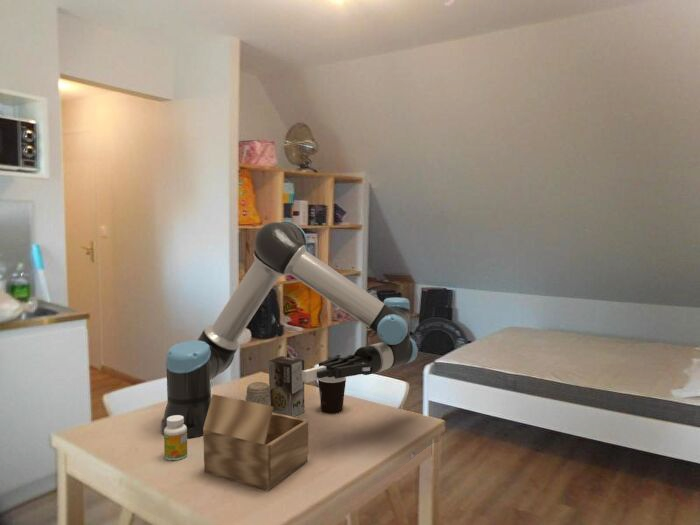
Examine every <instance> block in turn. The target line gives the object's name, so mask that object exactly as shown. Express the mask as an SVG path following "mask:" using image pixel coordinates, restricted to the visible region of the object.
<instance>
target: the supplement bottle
mask: <svg viewBox="0 0 700 525" xmlns="http://www.w3.org/2000/svg"><path fill="white" fill-rule="evenodd" d="M183 423H184V417H183V416H181V415H174V416H170V417H168V418H167V425H168V426H167V427H166V428H165V429H164V434H163V438H164V439H163V441H164V444H163V448H164V449H163V450H164V451H163V452H164V459H165V458H166V459H165V460H167V459H168V460H167V461H171V460H175V461H180V459H181V460H182V459H185V458H187V455H188V438H187V427H186V425H184V424H183Z"/></svg>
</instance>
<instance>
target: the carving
mask: <svg viewBox="0 0 700 525" xmlns="http://www.w3.org/2000/svg"><path fill="white" fill-rule="evenodd" d="M245 401H249V402H254V403H258V404H263V405H268V406H271V396H270V387H269V383H266V382H263V381H262V382H261V381H255V382H252V383H250V384H248V386H247V387H246V396H245Z"/></svg>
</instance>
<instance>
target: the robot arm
mask: <svg viewBox="0 0 700 525" xmlns="http://www.w3.org/2000/svg"><path fill="white" fill-rule="evenodd" d="M253 243H254V251H253V254H252V255H253V258H254V261H253V263H252V264H251V266H250V267H249V269H248V270H247V272H246V273H245V275H244V276H243V278H242V279H241V281H240V283H239V284H238V286H237V287H236V289H235V290H234V292H233V293H232V295H231V297H230V298H229V300H228V301H227V303H226V304H225V306H224V308H223V309H222V310H221V312H220V313H219V315H218V316H217V318H216V320H215V322H214V323H213V324H211V325H207V326H205V328H204V329H203V331H202V332H201V334H200V335H199V337H198V339H197V340H185V341H183V342H178V343H176V344H173V345H171V346H170V348H168V349H167V352H166V360H165V367H166V393H167V395H166V396H167V398H166V399H167V403H166V407H165V410H164V414H163V418H162V420H161V425H160V426H161V427H160V428H161V433H162V432H163V433H164V429H165V428H166V427H167V426H168V425H167V418H168V417H170V416H174V415H181V416H183V417H184V423H183V424H184V425H186V427H187V439H189V438H195V437H199V436H200V437H202V436H203V427H204V424H205V420H206V416H207V413H208V409H209V405H210V402H211V398H212V393H211V392H212V384H211V383H212V382H211V381H212V380H213V379H214V378H216V377H217V376H218V375H220V374H222V373H224V372H225V371H226V370H228V368H230V366H231V365H232V362H233V360H234V358H235V355H236V354H235V353H237V350H238V349H239V347H240V344H239V339H240V338H241V335H242V334H243V332H244V331H245V329H246V328H247V326H248V325H249V323H250V322H251V320H252V319H253V317H254V316H255V314H256V313H257V311H258V310H259V308H260V306H261V305H262V303H263V302H264V300H265V299H266V297H267V296H268V294H269V293H270V291H271V290H272V288H273V287H274V285H275V284H276V283H277V281H278V279H279V278H280V277H282V276H291V277H293V278H295V279H296V280H297V281H299V282H301V283H303V285H305V286H306V287H308V288H310V289H311V290H313V291H314V292H316V293H317V294H318V295H320V296H321V297H323V298H325V299H326V300H327V301H329V302H331V303H332V304H333V305H334V306H336V307H338V308H339V309H341V310H342V311H343V312H345V313H347V315H350V316H351V317H352V318H354V319H356V320H357V321H358V322H359V323H361V324H363V325H364V326H366V327H367V328H369V329H370V330H371V331H372V332H375V333H376V334H377V335H378V337H379V340H380V341H381V342H378V343H374V344H370V345H366V346H361V347H358V348H357V349H356V350H355V352H354V353H353V354H348V355H347V356H345V357H342V356H341V354H336V355H335V356H333V357H331V358H329V359H326V360H324V361H320V362H319V363H318V366H316V367H312V368H308V369H304V370H303V371H302V378H303V382H304V384H305V383H306V384H307V383H311V382H315V381H318V380H319V379H322V378H326V377H327V376H328V377H330V378H331V377H334V378H336V379H338V378H343V377H346V378H347V377H353V376H359V375H363V376H369V375H372V374H375V373H382V372H383V371H385V370H388V369H393V368H396V367H400V366H405V365H407V364H409V363H412V362H414V361H415V360H416V359H417V356H418V352H419V349H418V346H417V343H416V341H415V339H413V338H411V336H410V335H411V334H410V327H411V326H410V325H411V324H410V322H411V305H410V300H409V299H408V298H406V297H387V298H385V299H384V300H383V301H381V300H380V299H378V298H377V297H375V296H374V295H373V294H370V293H369V292H368V291H367V290H365V289H364V288H362V287H360V286H359V285H357V284H356V283H354V282H353V281H352V280H350V279H348V278H347V277H345V276H344V275H342V274H341V273H339V272H338V271H337V270H336V269H333V268H332V267H331V266H330V265H328V264H326V263H325V262H323V261H322V260H321V259H319V258H317V257H315V255H313V254H312V253H310V252H308V251H307V247H308V239H307V235H306V233H305V232H304V230H303V228H301V226H299V225H297V224H295V223H293V222H290V221H280V222H279V221H277V222H276V221H275V222H268V223H267V224H264V225H263V226H262V227H260V228H259V229H258V231H257V233H256V234H255V238H254V241H253ZM163 433H162V434H163Z"/></svg>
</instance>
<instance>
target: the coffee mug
mask: <svg viewBox="0 0 700 525" xmlns="http://www.w3.org/2000/svg"><path fill="white" fill-rule="evenodd" d="M317 382H318V390H319V391H318V392H319V400H320V408H321V412H322V413H324V414H327V415H328V414H329V415H334V414H336V413H337V414H339V412H340V413H342V412H343V407H344V399H345V392H346V391H345V390H346V382H347V377H343V378H338V379H336V378H334V377H331V378H330V377H328V376H327V377H326V378H322V379H319V380H317ZM341 411H342V412H341Z"/></svg>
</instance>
